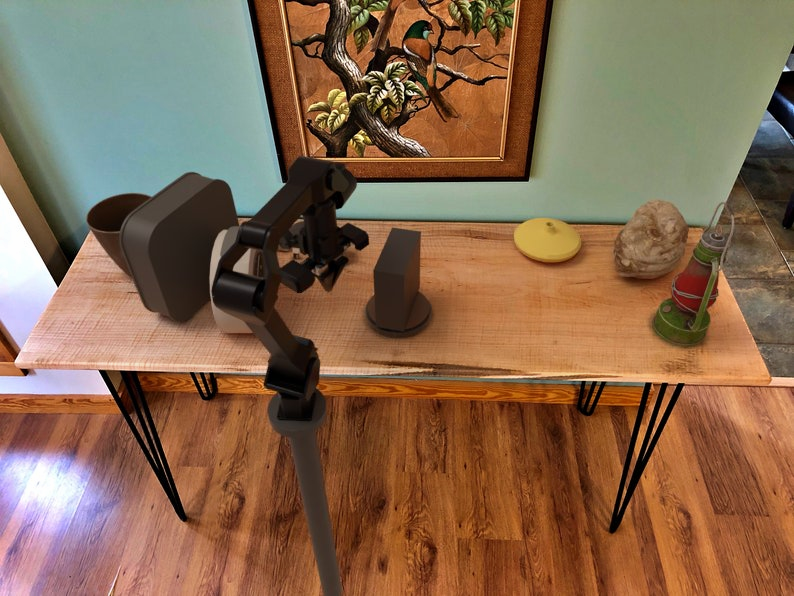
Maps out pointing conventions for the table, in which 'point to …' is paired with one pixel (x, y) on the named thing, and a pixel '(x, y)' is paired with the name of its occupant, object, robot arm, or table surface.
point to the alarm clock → (247, 264)
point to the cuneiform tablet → (295, 252)
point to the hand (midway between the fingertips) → (328, 290)
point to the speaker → (177, 243)
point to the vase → (547, 240)
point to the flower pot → (113, 223)
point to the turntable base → (399, 334)
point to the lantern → (694, 290)
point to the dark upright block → (398, 283)
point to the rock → (651, 241)
